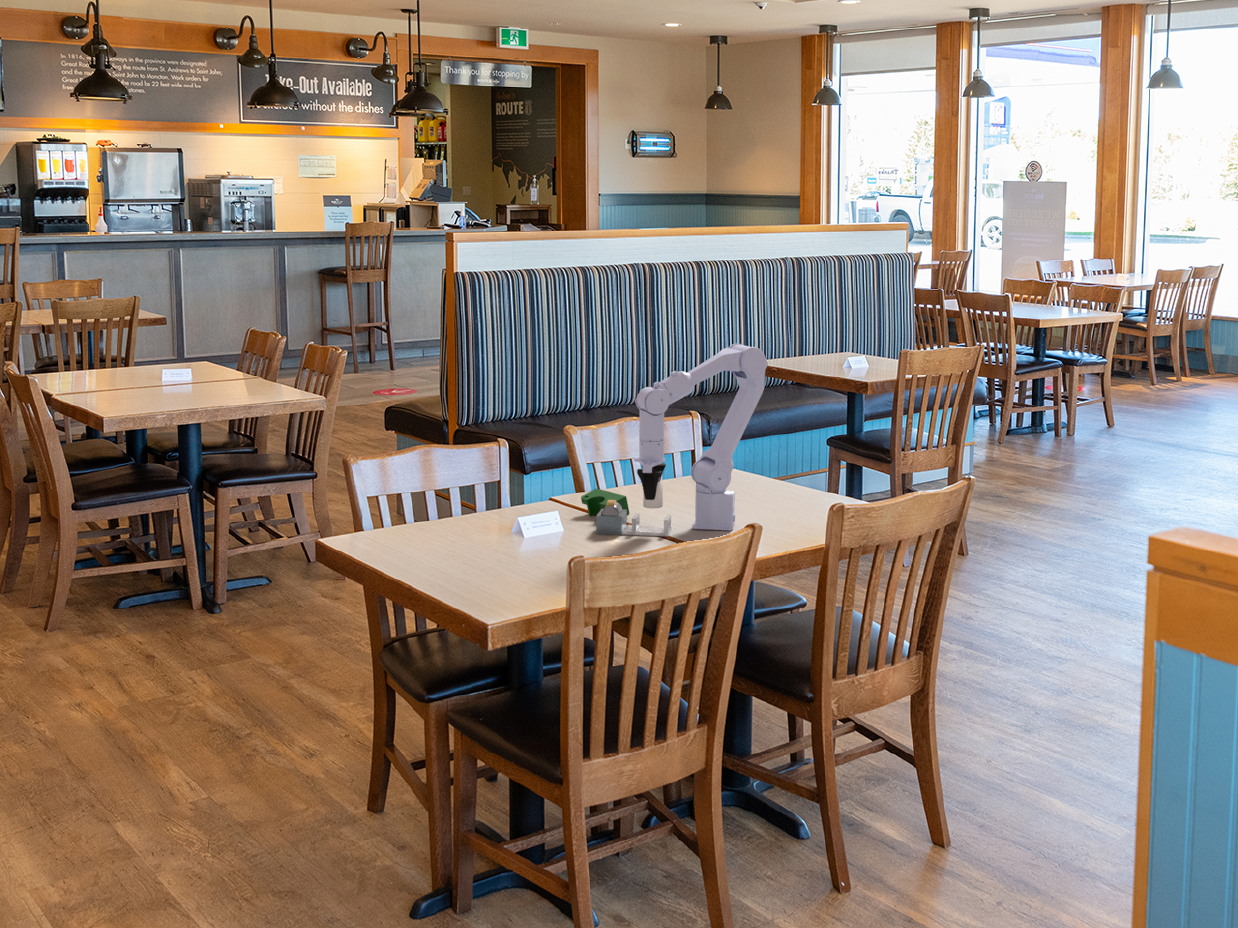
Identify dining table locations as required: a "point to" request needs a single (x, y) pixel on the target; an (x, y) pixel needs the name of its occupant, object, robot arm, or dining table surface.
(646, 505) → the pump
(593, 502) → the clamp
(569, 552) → the dining table surface
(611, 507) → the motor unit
